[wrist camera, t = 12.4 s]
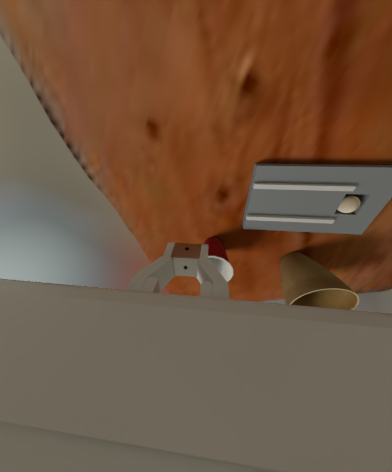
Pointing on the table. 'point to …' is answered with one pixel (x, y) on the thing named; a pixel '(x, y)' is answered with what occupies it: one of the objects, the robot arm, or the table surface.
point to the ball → (349, 204)
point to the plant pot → (313, 284)
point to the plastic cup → (219, 257)
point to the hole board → (315, 197)
